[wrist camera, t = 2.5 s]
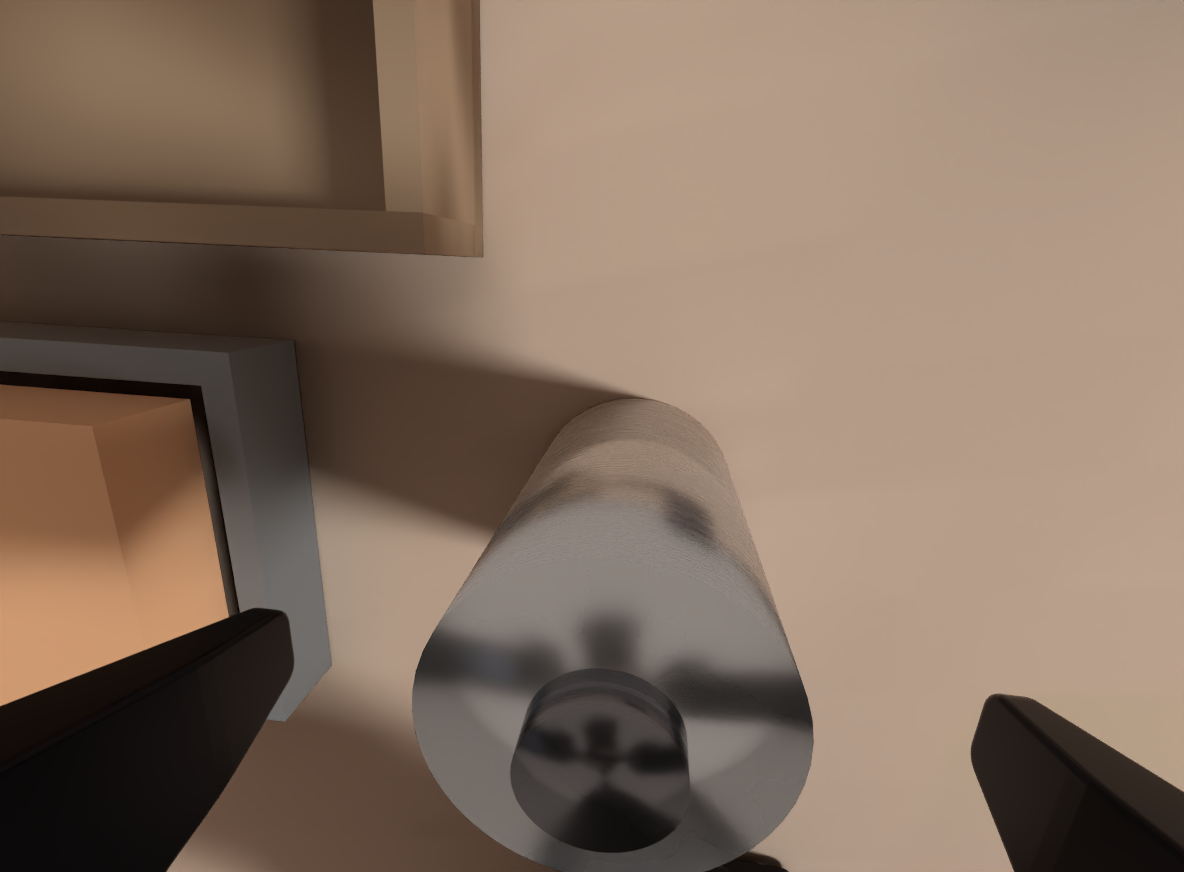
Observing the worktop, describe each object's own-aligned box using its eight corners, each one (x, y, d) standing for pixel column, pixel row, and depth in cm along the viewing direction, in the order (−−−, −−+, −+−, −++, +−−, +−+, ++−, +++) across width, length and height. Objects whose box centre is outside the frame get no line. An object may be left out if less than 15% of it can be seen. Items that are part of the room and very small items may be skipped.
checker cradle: (331, 665, 15) (284, 721, 13) (43, 629, 16) (-40, 677, 14) (293, 340, 13) (228, 353, 11) (-50, 317, 13) (-167, 326, 12)
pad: (240, 683, 13) (169, 753, 11) (-17, 649, 14) (-125, 710, 12) (190, 399, 11) (92, 426, 9) (-110, 376, 12) (-260, 397, 10)
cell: (718, 583, 13) (792, 971, 6) (539, 565, 14) (399, 904, 6) (742, 405, 12) (873, 621, 5) (541, 391, 12) (371, 568, 5)
